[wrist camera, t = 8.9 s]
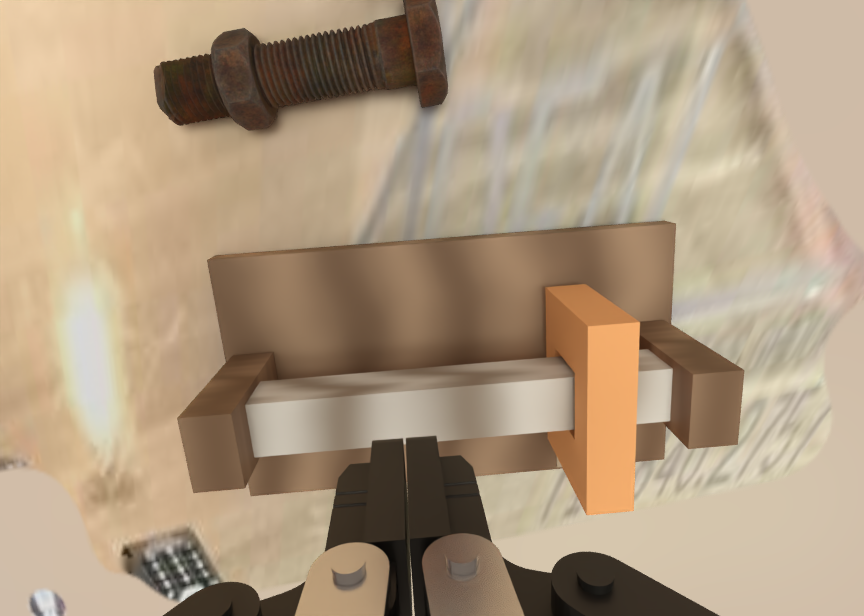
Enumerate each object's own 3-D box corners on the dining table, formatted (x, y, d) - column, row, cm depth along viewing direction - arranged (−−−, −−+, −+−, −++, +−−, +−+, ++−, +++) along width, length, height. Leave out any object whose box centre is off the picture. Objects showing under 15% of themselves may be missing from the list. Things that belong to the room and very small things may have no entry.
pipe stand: (256, 483, 38) (205, 594, 28) (215, 255, 33) (138, 294, 24) (654, 447, 38) (737, 544, 29) (664, 220, 34) (766, 245, 24)
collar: (547, 438, 35) (586, 515, 27) (545, 287, 32) (587, 326, 25) (584, 435, 35) (633, 511, 27) (585, 284, 32) (639, 322, 25)
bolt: (190, 89, 33) (436, 43, 32) (194, 164, 31) (450, 118, 31) (131, 15, 27) (429, -41, 27) (133, 103, 26) (445, 46, 25)
